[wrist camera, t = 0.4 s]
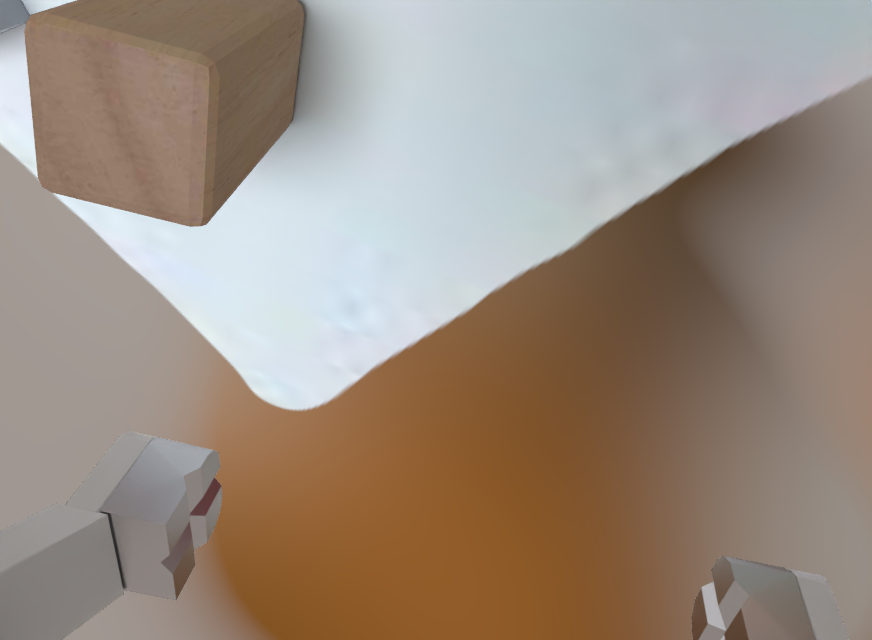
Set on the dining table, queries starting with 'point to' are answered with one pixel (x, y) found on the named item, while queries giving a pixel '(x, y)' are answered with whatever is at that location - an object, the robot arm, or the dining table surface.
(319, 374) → the dining table surface
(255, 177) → the dining table surface
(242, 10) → the block
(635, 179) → the dining table surface
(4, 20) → the brick
